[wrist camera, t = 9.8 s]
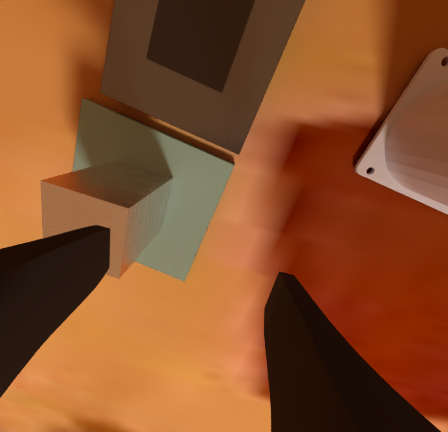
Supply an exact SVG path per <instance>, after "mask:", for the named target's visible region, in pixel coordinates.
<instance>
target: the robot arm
mask: <svg viewBox="0 0 448 432" xmlns="http://www.w3.org/2000/svg"><path fill="white" fill-rule="evenodd" d="M443 58H445V59H446V64H445V65H444V66H442V65H441V62H442V59H443ZM370 167H371V168H372V170H371V172H370V173H368V174H367V172H366V171H367V169H368V168H370ZM355 171H356V173H358V174H360V175H362V176H364V177H366V178H369V179H371V180H373V181H375V182H378V183H380V184H382V185H384V186H386V187H389V188H391V189H393V190H395V191H397V192H400V193H402V194H404V195H406V196H408V197H411V198H413V199H415V200H417V201H419V202H422V203H424V204H426V205H428V206H431V207H433V208H435V209H437V210H439V211H442V212H444V213H446V214H448V49H446V48H438V49H435V50H433V51H431V52H430V53H429V54H428V55H427V57H426V58H425V60H424V61H423V63H422V64H421V66H420V67H419V69H418V71H417V72H416V74H415V75H414V77H413V78H412V80H411V81H410V83H409V84H408V86H407V87H406V89H405V90H404V92H403V93H402V95H401V96H400V98H399V99H398V101H397V103H396V104H395V106H394V107H393V109H392V110H391V112H390V113H389V115H388V116H387V118H386V119H385V121H384V122H383V124H382V125H381V127H380V128H379V130H378V131H377V133H376V134H375V136H374V138H373V139H372V141H371V142H370V144H369V145H368V147H367V148H366V150H365V151H364V153H363V154H362V156H361V157H360V159H359V160H358V162H357V163H356V165H355ZM109 268H110V228H107V227H103V226H99V225H93V226H88V227H83V228H79V229H76V230H72V231H68V232H65V233H61V234H57V235H54V236H50V237H46V238H43V239H39V240H35V241H31V242H27V243H23V244H19V245H15V246H11V247H7V248H2V249H0V398H1V396H2V395H3V394H4V392H5V391H6V390H7V388H8V387H9V386H10V384H11V383H12V382H13V380H14V379H15V378H16V377H17V375H18V374H19V373H20V372H21V370H22V369H23V368H24V367H25V365H26V364H27V363H28V362H29V360H30V359H31V358H32V357H33V355H34V354H35V353H36V352H37V350H38V349H39V348H40V347H41V346H42V344H43V343H44V342H45V341H46V340H47V339H48V338H49V337H50V335H51V334H52V333H53V332H54V331H55V330H56V329H57V328H58V327H59V326H60V325H61V324H62V323H63V322H64V321H65V320H66V319H67V318H68V317H69V315H70V314H71V313H72V312H73V311H74V310H75V309H76V308H77V307H78V306H79V305H80V304H81V303H82V302H83V301H84V300H85V299H86V297H87V296H88V295H89V294H90V293H91V292H92V291H93V290H94V289H95V288H96V286H97V285H98V284H99V282H100V281H101V280H102V278H103V277H104V275H105V274H106V272H107V271H108V270H109ZM264 338H265V349H266V359H267V369H268V379H269V389H270V402H271V432H441V431H440V430H439V429H437V428H436V427H435V426H434V425H433V424H432V423H431V422H429V421H428V420H427V419H426V418H425V417H424V416H423V415H421V414H420V413H419V412H418V411H417V410H416V409H415V408H414V407H413V406H412V405H410V404H409V403H408V402H407V401H406V400H405V399H404V398H403V397H402V396H401V395H400V394H398V393H397V392H396V391H395V390H394V389H393V388H392V387H391V386H390V385H389V384H388V383H387V382H386V381H385V380H384V379H383V378H382V377H381V376H380V375H379V374H378V373H377V372H376V371H375V370H374V369H373V368H372V367H371V366H370V365H369V364H368V363H367V362H366V361H365V360H364V359H363V358H362V357H361V356H360V355H359V354H358V353H357V352H356V351H355V350H354V349H353V347H352V346H351V345H350V344H349V343H348V342H347V341H346V340H345V338H344V337H343V336H342V335H341V334H340V333H339V332H338V330H337V329H336V328H335V327H334V326H333V325H332V323H331V322H330V321H329V320H328V318H327V317H326V316H325V315H324V313H323V312H322V311H321V310H320V308H319V307H318V306H317V305H316V303H315V302H314V301H313V299H312V298H311V297H310V295H309V294H308V293H307V291H306V290H305V289H304V288H303V286H302V285H301V284H300V282H299V281H298V280H297V279H296V277H295V276H294V275H291V274H287V273H283V272H279V273H278V276H277V278H276V281H275V283H274V286H273V288H272V291H271V293H270V296H269V298H268V301H267V303H266V306H265V312H264Z"/></svg>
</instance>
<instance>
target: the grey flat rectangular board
mask: <svg viewBox="0 0 448 432" xmlns="http://www.w3.org/2000/svg"><path fill="white" fill-rule="evenodd" d="M304 2H305V0H115V1H114V7H113V14H112V20H111V27H110V33H109V39H108V46H107V52H106V59H105V65H104V71H103V78H102V84H101V91H100V93H101V94H103V95H106V96H108V97H110V98H112V99H115V100H117V101H119V102H121V103H124V104H126V105H128V106H130V107H133V108H135V109H137V110H139V111H142V112H144V113H146V114H148V115H151V116H153V117H155V118H157V119H160V120H162V121H164V122H166V123H169V124H171V125H173V126H175V127H178V128H180V129H182V130H184V131H187V132H189V133H191V134H193V135H196V136H198V137H200V138H202V139H205V140H207V141H209V142H211V143H214V144H216V145H218V146H220V147H223V148H225V149H227V150H229V151H232V152H234V153H236V154H238V155H239V153H240V151H241V149H242V146H243V144H244V142H245V139H246V137H247V135H248V132H249V130H250V128H251V125H252V123H253V121H254V118H255V116H256V114H257V111H258V109H259V107H260V105H261V102H262V100H263V98H264V95H265V93H266V91H267V88H268V86H269V84H270V81H271V79H272V77H273V74H274V72H275V70H276V67H277V65H278V63H279V60H280V58H281V56H282V53H283V51H284V49H285V46H286V44H287V42H288V39H289V37H290V35H291V32H292V30H293V28H294V25H295V23H296V21H297V18H298V16H299V14H300V11H301V9H302V7H303V4H304Z"/></svg>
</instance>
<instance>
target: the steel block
mask: <svg viewBox="0 0 448 432" xmlns="http://www.w3.org/2000/svg"><path fill="white" fill-rule="evenodd" d="M172 182H173V177H170V176H166V175H163V174H160V173H157V172H154V171H151V170H148V169H145V168H142V167H138V166H135V165H132V164H129V163H126V162H123V161H120V160H115V161H111V162H107V163H103V164H100V165H96V166H92V167H89V168H85V169H81V170H78V171H74V172H70V173H66V174H63V175H59V176H55V177H52V178H48V179H44V180H41V202H42V227H43V238H46V237H50V236H54V235H57V234H61V233H65V232H68V231H72V230H76V229H79V228H83V227H88V226H93V225H99V226H103V227H107V228H110V268H109V270H108V271H107V272H106V275H109V276H113V277H116V278H119V279H120V277H121V276H122V275H123V274H124V273H125V272H126V270H127V269H128V268H129V267H130V266H131V265H132V263H133V262H134V261H135V260H136V259H137V257H138V256H139V255H140V254H141V253H142V252H143V250H144V249H145V248H146V247H147V246H148V245H149V243H150V242H151V241H152V240H153V239H154V237H155V236H156V235H157V234H158V233H159V232H160V230H161V229H162V228H163V225H164V220H165V215H166V210H167V206H168V201H169V196H170V191H171V186H172Z"/></svg>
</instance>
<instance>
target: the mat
mask: <svg viewBox="0 0 448 432" xmlns="http://www.w3.org/2000/svg"><path fill="white" fill-rule="evenodd" d="M115 160H120V161H123V162H126V163H129V164H132V165H135V166H138V167H142V168H145V169H148V170H151V171H154V172H157V173H160V174H163V175H166V176H170V177H173V182H172V186H171V191H170V196H169V201H168V206H167V210H166V215H165V220H164V225H163V228H162V229H161V230H160V232H159V233H158V234H157V235H156V236H155V237H154V239H153V240H152V241H151V242H150V243H149V245H148V246H147V247H146V248H145V249H144V250H143V252H142V253H141V254H140V255H139V256H138V257H137V259H136V260H135V262H138V263H140V264H143V265H145V266H148V267H150V268H153V269H155V270H157V271H160V272H162V273H165V274H167V275H170V276H172V277H175V278H177V279H180V280H182V281H185V279H186V277H187V274H188V272H189V270H190V267H191V265H192V263H193V260H194V258H195V256H196V253H197V251H198V249H199V246H200V244H201V242H202V239H203V237H204V235H205V232H206V230H207V228H208V225H209V223H210V221H211V218H212V216H213V214H214V211H215V209H216V207H217V204H218V202H219V200H220V197H221V195H222V193H223V190H224V188H225V186H226V183H227V181H228V179H229V177H230V174H231V172H232V170H233V167H234V165H235V164H234V163H231V162H229V161H227V160H225V159H222V158H220V157H218V156H216V155H213V154H211V153H209V152H206V151H204V150H202V149H200V148H197V147H195V146H193V145H191V144H188V143H186V142H184V141H182V140H179V139H177V138H175V137H173V136H170V135H168V134H166V133H163V132H161V131H159V130H157V129H154V128H152V127H150V126H148V125H145V124H143V123H141V122H139V121H136V120H134V119H132V118H129V117H127V116H125V115H123V114H120V113H118V112H116V111H114V110H111V109H109V108H107V107H105V106H102V105H100V104H98V103H96V102H93V101H91V100H89V99H85V98H82V101H81V109H80V117H79V125H78V133H77V141H76V149H75V157H74V164H73V172H74V171H78V170H81V169H85V168H89V167H92V166H96V165H100V164H103V163H107V162H111V161H115Z"/></svg>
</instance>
